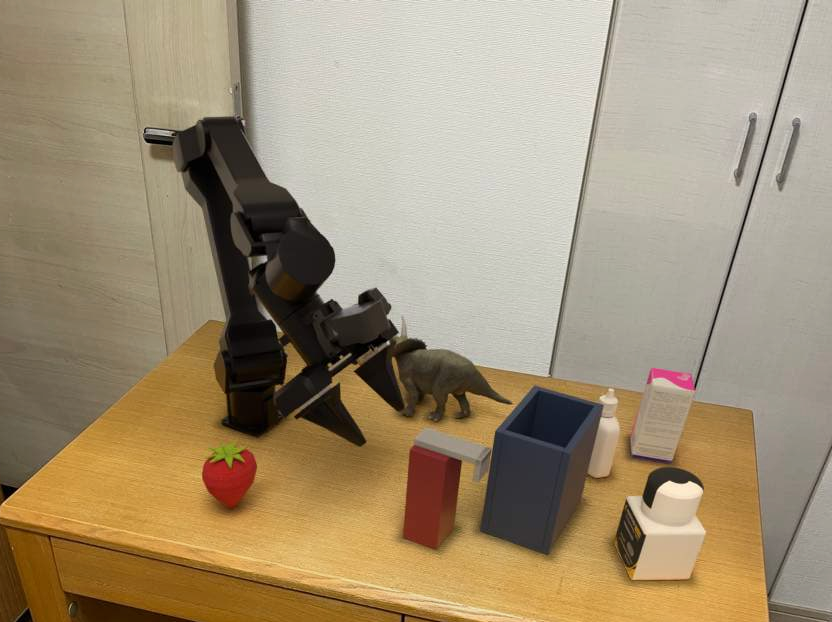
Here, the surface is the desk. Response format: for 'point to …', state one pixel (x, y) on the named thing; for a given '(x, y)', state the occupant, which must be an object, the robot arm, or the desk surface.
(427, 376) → the toy dinosaur
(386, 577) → the desk surface
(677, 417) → the supplement box
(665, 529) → the medicine bottle
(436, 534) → the red post with hook
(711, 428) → the desk surface
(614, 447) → the eye dropper bottle
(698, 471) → the desk surface
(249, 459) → the strawberry
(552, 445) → the storage box
